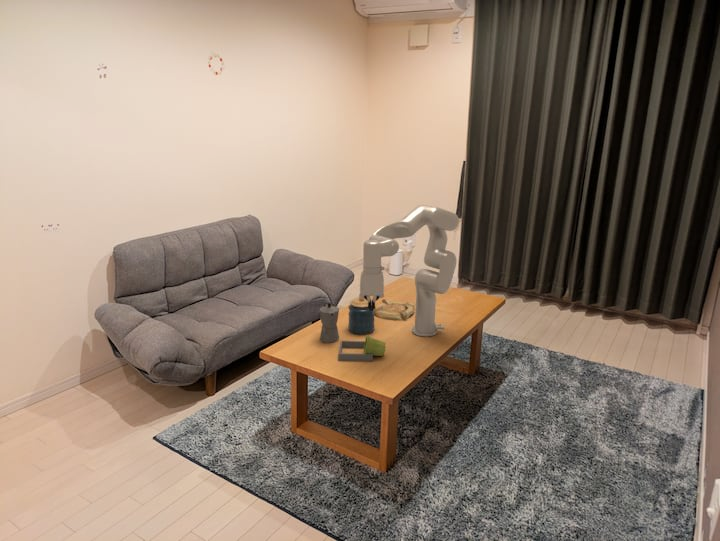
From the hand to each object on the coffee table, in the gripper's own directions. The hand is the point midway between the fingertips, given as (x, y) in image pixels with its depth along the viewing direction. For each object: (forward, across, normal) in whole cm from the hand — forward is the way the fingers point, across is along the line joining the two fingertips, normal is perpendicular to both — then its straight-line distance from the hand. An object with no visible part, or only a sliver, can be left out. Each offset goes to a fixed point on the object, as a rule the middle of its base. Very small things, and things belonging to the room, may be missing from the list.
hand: (371, 309), depth 222 cm
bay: (+21, +6, 0) cm, 22 cm away
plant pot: (+18, -6, +2) cm, 19 cm away
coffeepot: (+21, +20, -16) cm, 33 cm away
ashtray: (+22, -12, -51) cm, 57 cm away
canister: (+21, +5, -27) cm, 35 cm away
